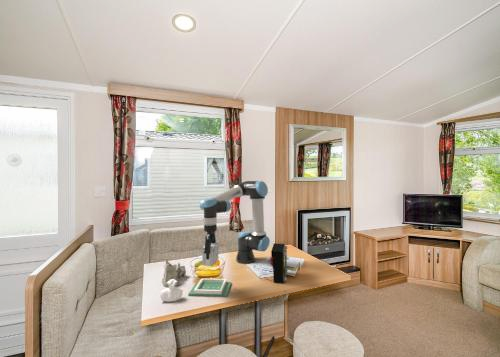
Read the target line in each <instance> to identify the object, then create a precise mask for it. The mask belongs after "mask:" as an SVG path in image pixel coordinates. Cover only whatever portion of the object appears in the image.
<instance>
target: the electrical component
mask: <svg viewBox="0 0 500 357" xmlns="http://www.w3.org/2000/svg"><path fill="white" fill-rule="evenodd" d="M287 250H288V246H287V245H286V244H285V243H273V245H272V248H271V252H270V253H271V254H270V255H271V256H270V257H269V258H270V264H271V266H272V273H273V276H272V277H273V284H285V282H287V281H288V278H287V273H288V272H287V271H288V260H287V259H288V254H287V253H288V252H287Z"/></svg>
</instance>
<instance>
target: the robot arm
mask: <svg viewBox="0 0 500 357" xmlns="http://www.w3.org/2000/svg"><path fill="white" fill-rule="evenodd" d="M268 188H269V187H268V185H267V183H266V182H264V181H263V180H246V181H242V182H240V183H237V184H236V185H234V186H233V187H232V188H230V189H228V190H226V191H224V192H221V193H219V194H217V195H215V196H213V197H210V198H205V199H202V200H200V202H199V208H200V210H202V211H203V219H202V220H203V225H204V226H203V231H204V232H206V235H205V236H204V237H205V240H204V246H205V251H204V254H206V265H210V264H211V253H210V247H211V243H217V239H216V232H217V229H218V228H217V223H218V222H217V221H218V220H217V218H218V217H217V216H218V214H222V213H227V212H229V211H230V210H231V209H232V204H231V201H233V199H236V198H241V197H242V196H243V197H246V196H247V197H249V200H251V206H252V207H251V208H252V230H246V231H241V232H239V233H238V234H237V248H238V249H237V250H238V251H237V253H236V258H235V259H236V260H235V261H236V262H237V263H239V264H251V262H252V263H254V262H255V261H256V257H255V254H254V252H253V250H254V251H257V252H262V253H263V252H266V251H267V249H268V248H269V246H270V243H271V242H270V238H269V237H268V236H267V232H266V231H265V221H264V220H265V218H264V214H265V213H264V200H265V199H266V196H267V195H268V193H269V192H268V191H269V189H268Z"/></svg>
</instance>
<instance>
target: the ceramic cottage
mask: <svg viewBox="0 0 500 357" xmlns="http://www.w3.org/2000/svg"><path fill="white" fill-rule="evenodd" d="M163 267H164V273H163V278H162V280H161V283H163V284H162V286H163V287H164V288H169V286H168V285H169V284H167V283H166V282H168V281H169V280H171V279H175V280H176V281H177V282H176V285H175V287H176V286H178V284H179V285H180V284H182V282H184V281H185V280H186V279H187V275H186V272H187V270H186V267H185V265H181V263H180V262H178V263H177V264H176V263H175V264H172V263H170V261H169V260H168V258H167V257H166V258H165V264H164V266H163Z"/></svg>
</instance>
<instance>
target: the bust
mask: <svg viewBox="0 0 500 357" xmlns="http://www.w3.org/2000/svg"><path fill="white" fill-rule="evenodd" d="M176 282H177V281H176V280H175V279H171V280H169V281H168V282H166V283H167V284H169V285H168V286H169V287H165V288H164V289H162V290H161V291H160V293H159V298H160V299H161V301H162V302H166V303H169V302H170V303H171V302H176V301H178V300H181V299H182V297H183V292H184V290H183V289H182V288H180V287H178V286H177V285H176ZM175 285H176V286H177V287H176V286H175Z"/></svg>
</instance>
